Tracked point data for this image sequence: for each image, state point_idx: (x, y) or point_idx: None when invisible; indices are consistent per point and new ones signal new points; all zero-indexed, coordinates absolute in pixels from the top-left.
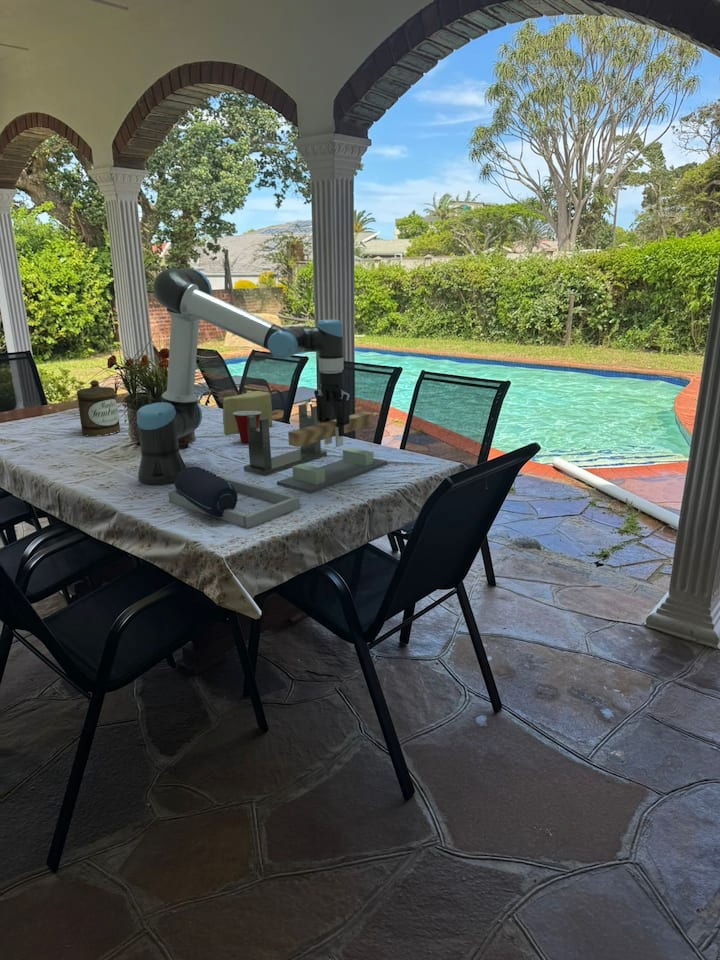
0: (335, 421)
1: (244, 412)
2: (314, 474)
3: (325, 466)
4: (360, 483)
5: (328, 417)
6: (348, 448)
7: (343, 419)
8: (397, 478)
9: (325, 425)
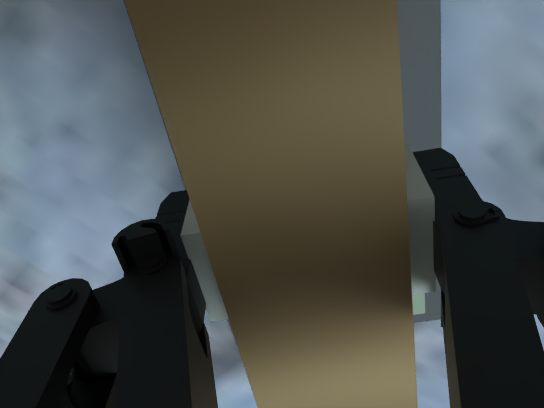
0: (317, 326)
1: None
2: None
3: (415, 76)
4: (21, 45)
5: (444, 332)
6: (419, 296)
7: (22, 350)
8: (5, 238)
9: (197, 77)
